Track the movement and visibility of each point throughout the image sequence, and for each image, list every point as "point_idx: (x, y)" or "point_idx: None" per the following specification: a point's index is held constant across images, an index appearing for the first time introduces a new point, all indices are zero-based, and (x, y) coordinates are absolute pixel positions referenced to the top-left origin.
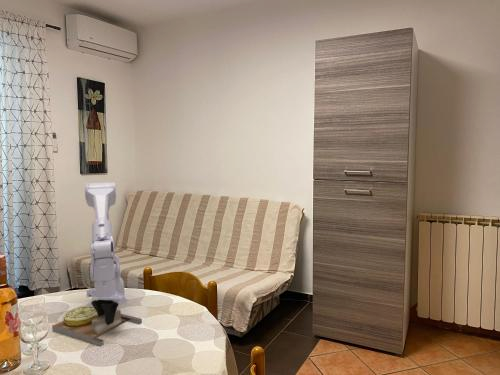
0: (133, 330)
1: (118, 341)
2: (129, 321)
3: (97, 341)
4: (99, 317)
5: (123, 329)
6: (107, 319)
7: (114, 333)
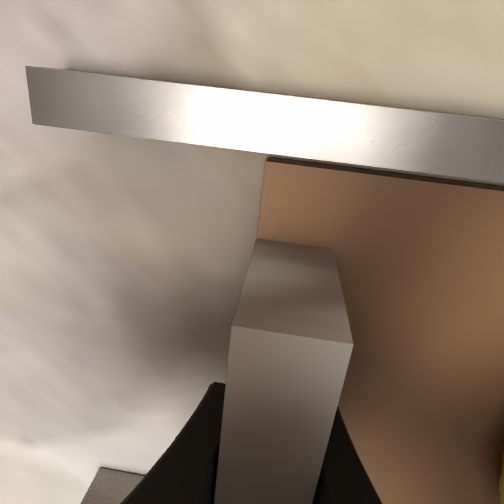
0: (69, 400)
1: (15, 226)
2: None
3: (72, 71)
4: (303, 443)
5: (154, 397)
6: (181, 430)
7: (169, 330)
